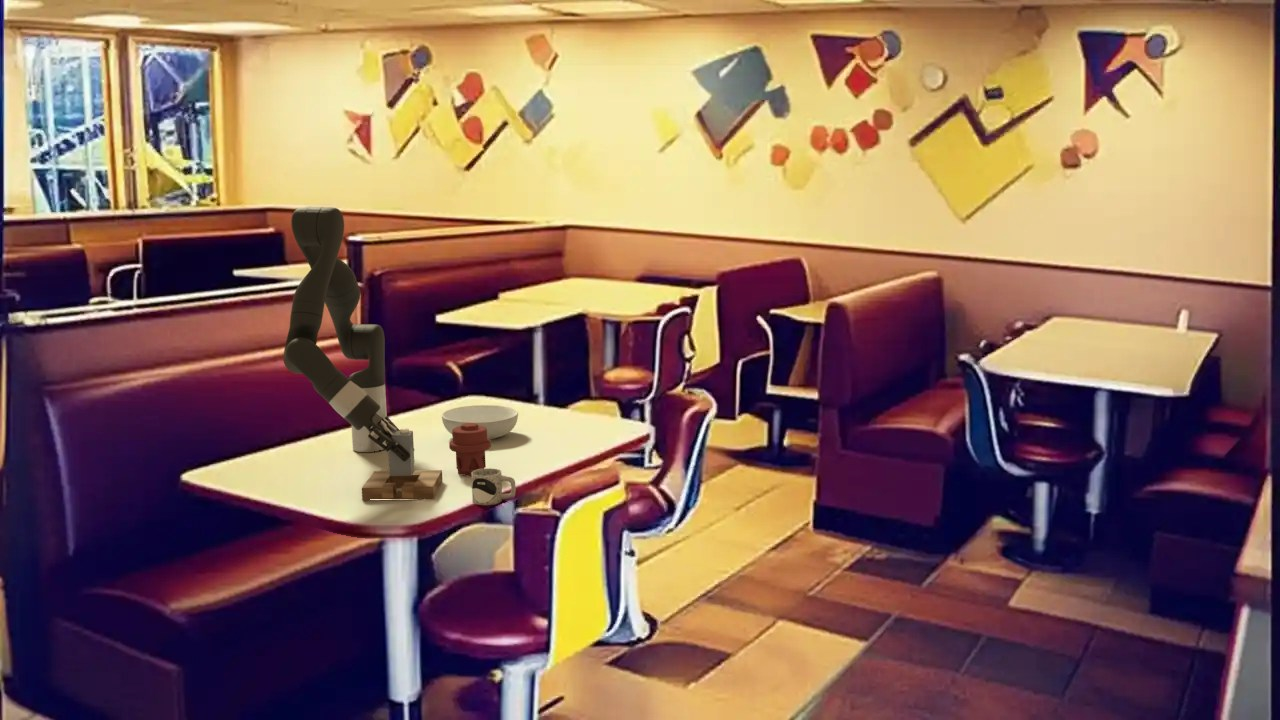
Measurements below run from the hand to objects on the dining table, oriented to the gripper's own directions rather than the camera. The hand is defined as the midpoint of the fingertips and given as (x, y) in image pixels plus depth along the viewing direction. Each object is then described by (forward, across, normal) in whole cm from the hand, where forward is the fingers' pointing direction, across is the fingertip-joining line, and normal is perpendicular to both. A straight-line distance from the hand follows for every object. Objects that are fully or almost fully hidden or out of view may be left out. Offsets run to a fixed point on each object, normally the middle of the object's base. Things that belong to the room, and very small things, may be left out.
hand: (409, 455), depth 270 cm
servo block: (+2, 0, +4) cm, 5 cm away
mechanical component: (+15, +14, -2) cm, 21 cm away
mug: (+20, -9, -8) cm, 24 cm away
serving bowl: (+13, +52, -1) cm, 54 cm away
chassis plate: (+5, 0, +7) cm, 9 cm away
